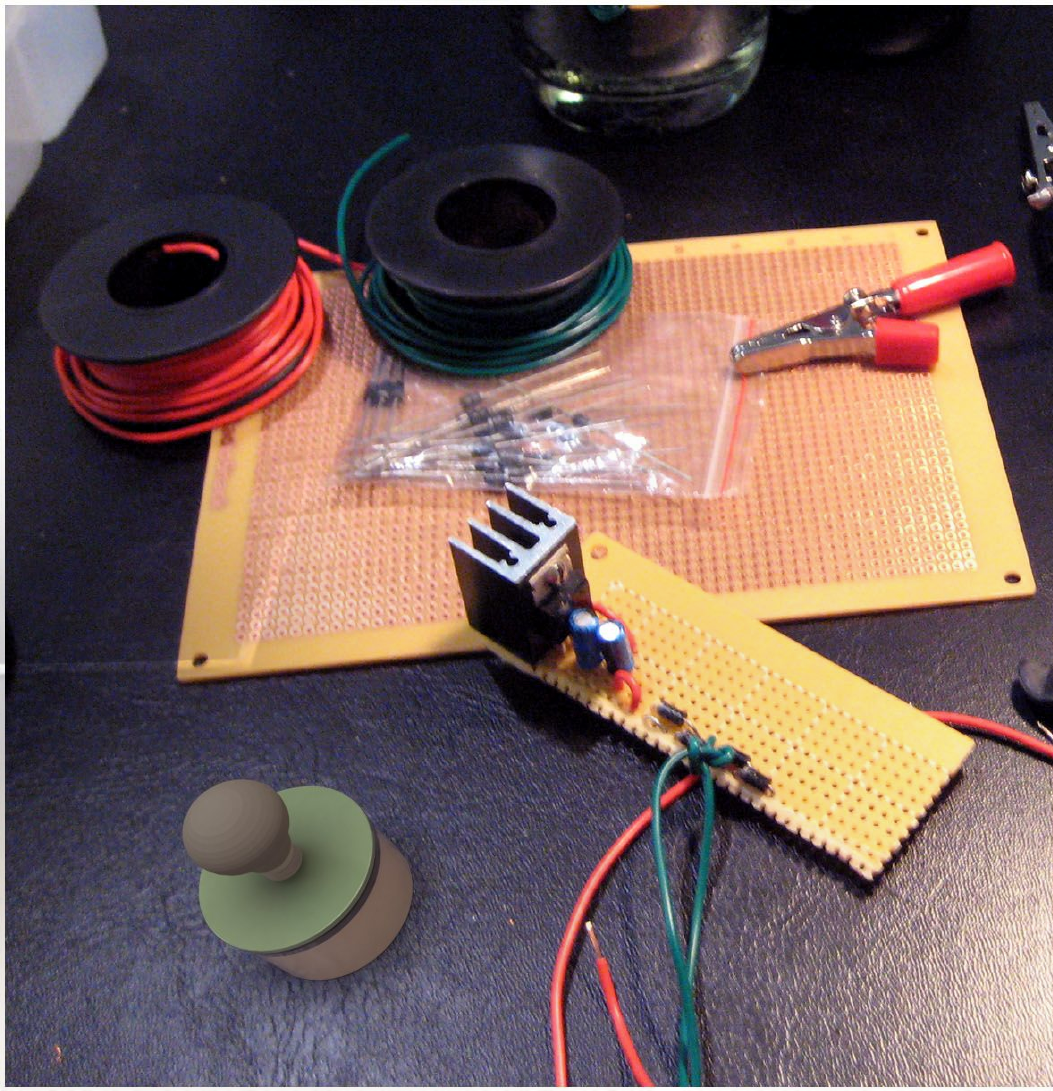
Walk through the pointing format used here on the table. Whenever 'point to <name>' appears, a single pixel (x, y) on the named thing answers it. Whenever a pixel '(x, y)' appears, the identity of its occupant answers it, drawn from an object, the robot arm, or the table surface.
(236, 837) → the light bulb
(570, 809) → the table surface
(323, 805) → the pot
